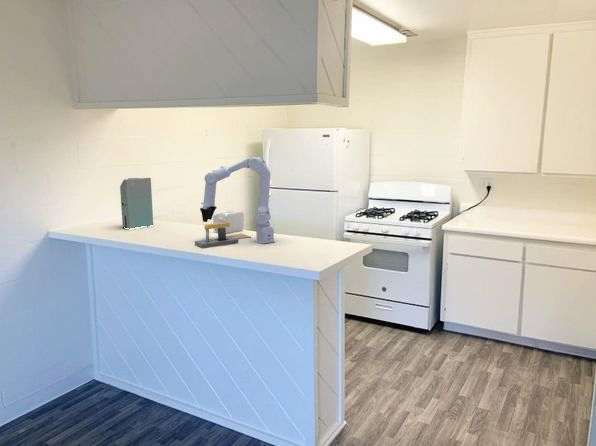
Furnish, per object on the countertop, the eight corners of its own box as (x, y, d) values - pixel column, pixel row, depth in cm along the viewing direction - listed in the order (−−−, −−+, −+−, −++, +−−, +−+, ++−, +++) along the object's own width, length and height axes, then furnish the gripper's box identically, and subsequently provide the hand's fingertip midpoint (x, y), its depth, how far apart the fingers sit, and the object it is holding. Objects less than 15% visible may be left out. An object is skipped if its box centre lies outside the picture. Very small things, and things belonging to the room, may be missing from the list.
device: (146, 225, 308) (143, 177, 303) (153, 226, 303) (150, 177, 298) (122, 228, 295) (119, 178, 290) (129, 230, 290) (126, 179, 285)
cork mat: (250, 237, 267) (250, 236, 267) (232, 240, 261) (232, 238, 261) (241, 234, 276) (241, 233, 276) (223, 236, 270) (223, 235, 270)
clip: (205, 229, 245) (205, 225, 244) (203, 228, 247) (203, 224, 247) (229, 226, 252) (229, 222, 252) (227, 226, 254) (227, 222, 254)
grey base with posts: (238, 243, 253) (237, 227, 251) (202, 248, 242) (201, 231, 240) (230, 240, 260) (229, 225, 259) (195, 245, 249) (194, 229, 247)
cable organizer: (225, 234, 276) (225, 214, 274) (212, 232, 283) (212, 212, 281) (244, 230, 288) (243, 211, 286) (231, 228, 294) (230, 209, 292)
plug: (227, 243, 252) (227, 228, 251) (220, 244, 250) (219, 229, 248) (223, 242, 255) (223, 227, 254) (216, 243, 253) (216, 228, 252)
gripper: (206, 192, 265) (204, 217, 267) (197, 195, 250) (195, 221, 253) (219, 194, 264) (216, 219, 267) (211, 197, 250) (208, 223, 252)
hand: (207, 220), depth 260 cm, fingers open, 7 cm apart
